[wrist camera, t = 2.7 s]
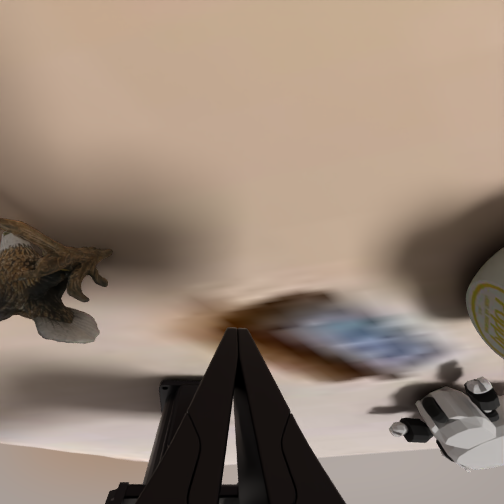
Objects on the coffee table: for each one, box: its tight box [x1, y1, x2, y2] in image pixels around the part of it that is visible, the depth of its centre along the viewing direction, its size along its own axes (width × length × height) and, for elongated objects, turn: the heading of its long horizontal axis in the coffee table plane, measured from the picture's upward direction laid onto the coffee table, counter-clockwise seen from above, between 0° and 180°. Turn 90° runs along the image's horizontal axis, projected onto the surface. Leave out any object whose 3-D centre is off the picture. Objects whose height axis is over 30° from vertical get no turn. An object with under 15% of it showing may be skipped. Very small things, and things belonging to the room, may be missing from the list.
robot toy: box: [389, 377, 504, 472], centre depth 23 cm, size 12×4×15 cm
